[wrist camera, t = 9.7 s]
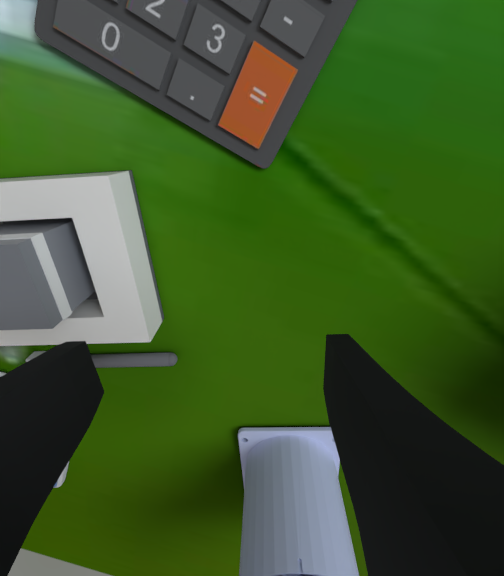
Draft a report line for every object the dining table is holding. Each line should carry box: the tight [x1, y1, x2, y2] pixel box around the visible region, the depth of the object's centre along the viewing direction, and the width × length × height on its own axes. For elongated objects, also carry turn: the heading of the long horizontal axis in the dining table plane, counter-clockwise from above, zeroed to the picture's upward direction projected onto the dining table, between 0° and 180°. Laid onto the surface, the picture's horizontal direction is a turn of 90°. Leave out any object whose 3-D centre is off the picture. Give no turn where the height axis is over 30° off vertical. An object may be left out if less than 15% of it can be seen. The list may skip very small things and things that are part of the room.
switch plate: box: [0, 170, 164, 346], centre depth 17 cm, size 9×14×3 cm, turn 94°
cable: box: [26, 351, 177, 368], centre depth 21 cm, size 1×10×1 cm, turn 93°
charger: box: [0, 218, 96, 330], centre depth 15 cm, size 4×4×5 cm
